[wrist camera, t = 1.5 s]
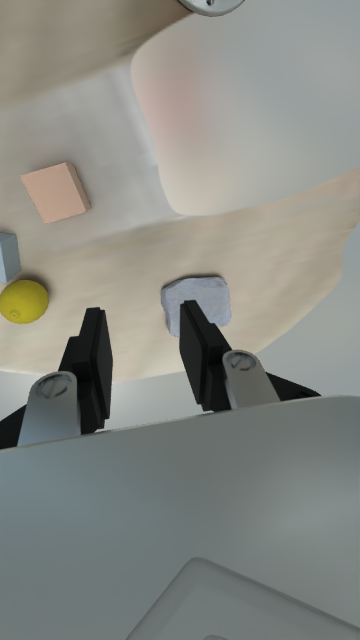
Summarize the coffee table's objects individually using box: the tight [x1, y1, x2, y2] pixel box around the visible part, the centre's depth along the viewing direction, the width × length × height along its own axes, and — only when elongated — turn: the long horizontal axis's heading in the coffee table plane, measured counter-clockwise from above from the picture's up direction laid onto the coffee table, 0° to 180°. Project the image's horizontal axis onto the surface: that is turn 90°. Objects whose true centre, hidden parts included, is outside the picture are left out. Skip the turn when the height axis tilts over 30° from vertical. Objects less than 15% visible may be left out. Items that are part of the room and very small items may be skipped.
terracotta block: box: [20, 162, 91, 224], centre depth 29 cm, size 5×5×5 cm
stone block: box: [161, 277, 232, 337], centre depth 42 cm, size 12×5×10 cm
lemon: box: [0, 280, 49, 324], centre depth 33 cm, size 6×6×8 cm
